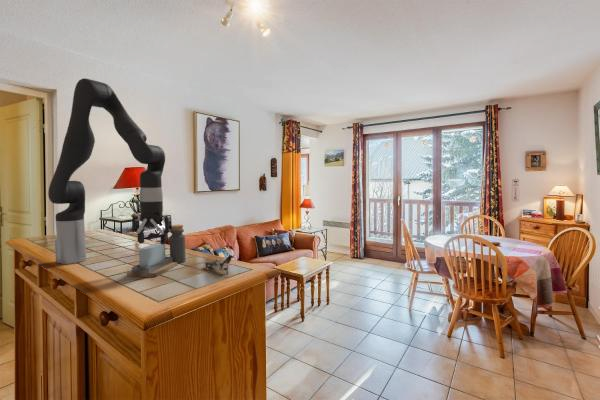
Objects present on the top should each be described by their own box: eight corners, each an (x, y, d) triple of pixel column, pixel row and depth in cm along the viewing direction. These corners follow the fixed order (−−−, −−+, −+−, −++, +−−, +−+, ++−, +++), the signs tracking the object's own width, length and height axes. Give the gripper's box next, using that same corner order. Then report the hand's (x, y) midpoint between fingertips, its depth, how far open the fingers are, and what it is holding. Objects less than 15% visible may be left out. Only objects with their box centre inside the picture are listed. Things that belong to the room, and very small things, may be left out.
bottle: (188, 260, 125) (187, 224, 124) (181, 263, 119) (180, 226, 118) (174, 259, 126) (173, 224, 125) (167, 263, 120) (166, 226, 119)
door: (139, 271, 105) (138, 249, 105) (157, 262, 116) (157, 242, 116) (148, 271, 105) (147, 249, 104) (165, 263, 116) (165, 242, 115)
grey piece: (125, 276, 104) (125, 267, 104) (151, 264, 119) (151, 256, 119) (155, 277, 103) (155, 268, 102) (178, 265, 118) (177, 257, 117)
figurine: (207, 277, 114) (233, 274, 105) (199, 271, 112) (225, 267, 103) (214, 264, 118) (240, 260, 109) (207, 258, 116) (232, 253, 107)
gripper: (126, 200, 106) (127, 245, 107) (163, 201, 105) (164, 246, 106) (139, 198, 114) (140, 240, 115) (175, 199, 112) (176, 242, 113)
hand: (152, 243), depth 110 cm, fingers open, 8 cm apart
